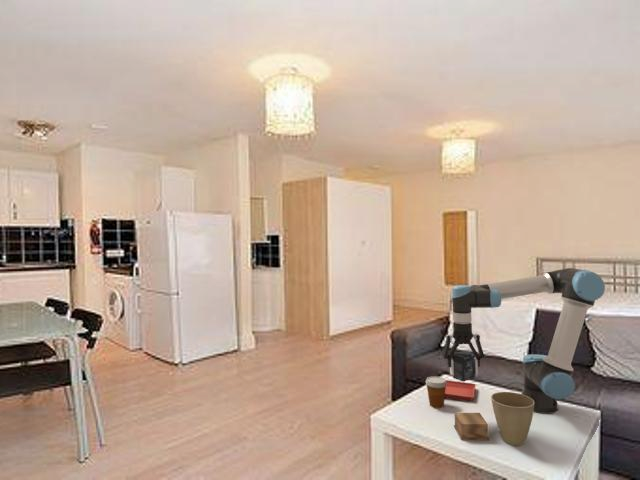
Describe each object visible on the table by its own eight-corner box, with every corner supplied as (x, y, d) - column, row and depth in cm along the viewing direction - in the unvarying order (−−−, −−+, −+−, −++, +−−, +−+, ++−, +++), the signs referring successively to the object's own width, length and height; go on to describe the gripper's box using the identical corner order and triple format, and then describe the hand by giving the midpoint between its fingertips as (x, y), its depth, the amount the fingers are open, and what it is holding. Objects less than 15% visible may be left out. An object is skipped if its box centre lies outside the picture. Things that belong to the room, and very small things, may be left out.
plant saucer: (475, 389, 204) (475, 383, 204) (473, 404, 187) (473, 397, 187) (439, 385, 211) (438, 379, 211) (434, 398, 195) (433, 391, 195)
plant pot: (545, 446, 148) (543, 403, 148) (512, 454, 144) (510, 410, 144) (514, 428, 162) (513, 389, 162) (483, 434, 158) (482, 394, 158)
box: (464, 382, 166) (463, 356, 166) (452, 378, 171) (451, 353, 171) (475, 377, 171) (474, 353, 171) (464, 374, 176) (463, 350, 175)
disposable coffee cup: (424, 408, 183) (424, 382, 183) (427, 400, 192) (426, 375, 192) (446, 411, 180) (445, 384, 180) (448, 402, 189) (447, 377, 189)
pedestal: (480, 426, 164) (480, 412, 164) (489, 440, 154) (488, 424, 154) (454, 426, 165) (453, 412, 165) (461, 440, 155) (460, 424, 155)
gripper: (485, 319, 174) (487, 370, 174) (434, 320, 175) (435, 371, 175) (491, 323, 166) (493, 377, 167) (438, 324, 168) (439, 377, 168)
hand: (463, 374), depth 171 cm, fingers closed on box, 9 cm apart
